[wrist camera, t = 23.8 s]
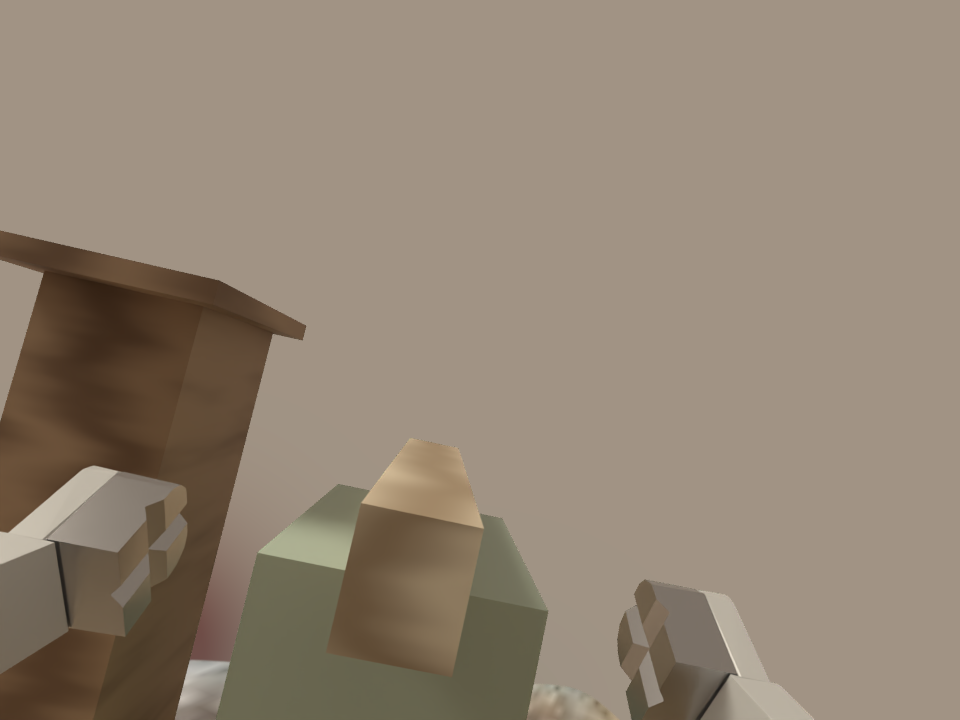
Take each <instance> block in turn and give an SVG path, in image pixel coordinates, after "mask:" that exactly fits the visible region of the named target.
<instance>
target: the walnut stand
mask: <svg viewBox="0 0 960 720" xmlns="http://www.w3.org/2000/svg"><path fill="white" fill-rule="evenodd" d="M0 260H2V261H6V262H9V263H12V264H15V265H19V266H22V267H25V268H28V269H32V270H35V271H38V272H41V273H44V274H43V278H42V281H41V285H40V288H39V292H38V295H37V298H36V302H35V305H34V309H33V312H32V315H31V319H30V322H29V326H28V329H27V332H26V336H25V339H24V343H23V346H22V349H21V353H20V357H19V360H18V363H17V366H16V370H15V373H14V377H13V380H12V383H11V387H10V390H9V394H8V397H7V401H6V404H5V408H4V411H3V414H2V418H1V421H0V532H6V533H8V532H10V531H11V530H12V529H13V528H14V527H16V526H17V525H18V524H19V523H20V522H21V521H23V520H24V519H25V518H26V517H27V516H28V515H30V514H31V513H32V512H33V511H34V510H35V509H37V508H38V507H39V506H40V505H41V504H42V503H44V502H45V501H46V500H47V499H48V498H50V497H51V496H52V495H53V494H54V493H55V492H57V491H58V490H59V489H60V488H61V487H62V486H64V485H65V484H66V483H67V482H68V481H69V480H71V479H72V478H73V477H74V476H75V475H76V474H78V473H79V472H80V471H81V470H83V469H85V468H88V467H91V466H98V467H103V468H107V469H111V470H115V471H120V472H127V473H131V474H136V475H140V476H144V477H149V478H153V479H157V480H162V481H166V482H171V483H175V484H179V485H182V486H183V487H185V488H186V494H187V504H186V505H185V507H184V508H183V509H182V510H181V512H180V514H181V515H182V517H183V518H184V519H185V521H186V522H187V538H186V543H185V547H184V550H183V552H182V554H181V556H180V559H179V561H178V563H177V565H176V567H175V568H174V569H173V571H172V572H171V574H170V575H169V577H168V578H167V579H166V580H164V581H162V582H160V583H158V584H156V585H154V586H152V587H151V602H150V603H149V605H148V606H147V608H146V609H145V610H144V612H143V613H142V614H141V616H140V617H139V619H138V620H137V621H136V623H135V624H134V625H133V627H132V628H131V630H130V631H129V632H128V634H127V635H126V637H123V636H117V635H111V634H104V633H98V632H91V631H85V630H79V629H72V628H68V632H66V633H65V634H63V635H62V636H60V637H59V638H57V639H55V640H54V641H52V642H51V643H49V644H47V645H46V646H44V647H43V648H41V649H39V650H38V651H36V652H35V653H33V654H32V655H30V656H28V657H27V658H25V659H24V660H22V661H20V662H19V663H17V664H16V665H14V666H12V667H11V668H9V669H8V670H6V671H5V672H3V673H1V674H0V720H174V719H175V715H176V711H177V707H178V704H179V700H180V696H181V692H182V688H183V684H184V680H185V676H186V672H187V668H188V664H189V660H190V656H191V653H192V649H193V645H194V641H195V637H196V633H197V629H198V625H199V621H200V617H201V613H202V609H203V605H204V601H205V598H206V593H207V590H208V586H209V582H210V578H211V574H212V570H213V566H214V562H215V558H216V554H217V550H218V546H219V543H220V539H221V535H222V531H223V527H224V523H225V519H226V515H227V511H228V507H229V503H230V499H231V496H232V492H233V488H234V484H235V480H236V476H237V472H238V468H239V464H240V460H241V456H242V452H243V448H244V445H245V441H246V437H247V432H248V429H249V425H250V421H251V417H252V413H253V409H254V405H255V401H256V397H257V393H258V389H259V385H260V382H261V378H262V374H263V370H264V366H265V362H266V358H267V354H268V350H269V346H270V342H271V339H272V334H276V335H281V336H285V337H290V338H294V339H299V340H303V337H304V333H305V328H306V325H304V324H302V323H300V322H298V321H296V320H294V319H292V318H290V317H288V316H286V315H284V314H283V313H281V312H279V311H277V310H275V309H273V308H271V307H269V306H267V305H265V304H263V303H261V302H260V301H257V300H255V299H253V298H252V297H250V296H248V295H246V294H244V293H242V292H240V291H238V290H236V289H235V288H233V287H231V286H229V285H227V284H225V283H223V282H221V281H219V280H214V279H210V278H205V277H201V276H197V275H193V274H188V273H184V272H179V271H175V270H171V269H166V268H161V267H157V266H153V265H149V264H144V263H140V262H135V261H131V260H127V259H122V258H118V257H114V256H109V255H105V254H101V253H96V252H92V251H87V250H83V249H78V248H74V247H70V246H65V245H61V244H56V243H52V242H48V241H44V240H39V239H34V238H30V237H26V236H22V235H17V234H13V233H9V232H4V231H0Z"/></svg>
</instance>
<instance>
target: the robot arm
mask: <svg viewBox="0 0 960 720" xmlns="http://www.w3.org/2000/svg"><path fill="white" fill-rule="evenodd" d="M186 504H187V494H186V488H185V487H183V486H182V485H179V484H175V483H171V482H166V481H162V480H157V479H153V478H149V477H144V476H140V475H136V474H131V473H127V472H120V471H115V470H111V469H107V468H103V467H98V466H91V467H88V468H85V469H83V470H81V471H80V472H79V473H78V474H76V475H75V476H74V477H73V478H72V479H71V480H69V481H68V482H67V483H66V484H65V485H64V486H62V487H61V488H60V489H59V490H58V491H57V492H55V493H54V494H53V495H52V496H51V497H50V498H48V499H47V500H46V501H45V502H44V503H42V504H41V505H40V506H39V507H38V508H37V509H35V510H34V511H33V512H32V513H31V514H30V515H28V516H27V517H26V518H25V519H24V520H23V521H21V522H20V523H19V524H18V525H17V526H16V527H14V528H13V529H12V530H11V531H10V532H8V533H6V532H0V674H1V673H3V672H5V671H6V670H8V669H9V668H11V667H12V666H14V665H16V664H17V663H19V662H20V661H22V660H24V659H25V658H27V657H28V656H30V655H32V654H33V653H35V652H36V651H38V650H39V649H41V648H43V647H44V646H46V645H47V644H49V643H51V642H52V641H54V640H55V639H57V638H59V637H60V636H62V635H63V634H65V633H66V632H68V628H72V629H79V630H85V631H91V632H98V633H104V634H111V635H117V636H123V637H126V635H127V634H128V632H129V631H130V630H131V628H132V627H133V625H134V624H135V623H136V621H137V620H138V619H139V617H140V616H141V614H142V613H143V612H144V610H145V609H146V608H147V606H148V605H149V603H150V602H151V587H152V586H154V585H156V584H158V583H160V582H162V581H164V580H166V579H167V578H168V577H169V575H170V574H171V572H172V571H173V569H174V568H175V567H176V565H177V563H178V561H179V559H180V556H181V554H182V552H183V550H184V547H185V543H186V538H187V522H186V521H185V519H184V518H183V517H182V515H181V514H180V512H181V510H182V509H183V508H184V507H185V505H186ZM634 595H635V599H636V603H637V605H635V606H634V607H632V608H630V609H628V610H627V611H625V614H624V616H623V618H622V620H621V623H620V626H619V633H618V639H617V640H618V655H619V661H620V666H621V668H622V669H623V670H624V672H625V673H626V674H627V675H628V677H629V678H630V679H631V680H632V681H631V683H630V685H629V687H628V689H627V691H626V695H627V700H628V704H629V709H630V714H631V719H632V720H815V719H814V718H813V717H811V715H810V714H809V713H808V712H807V711H806V710H805V709H803V708H802V706H801V705H799V703H797V702H796V700H794V699H793V698H792V697H791V696H790V695H789V694H788V693H787V692H786V691H785V690H784V689H783V688H782V687H781V686H780V685H779V684H776V683H771V682H770V681H769V678H768V676H767V674H766V672H765V670H764V668H763V666H762V664H761V661H760V659H759V657H758V655H757V653H756V651H755V648H754V646H753V644H752V642H751V640H750V638H749V635H748V633H747V631H746V629H745V627H744V625H743V623H742V621H741V618H740V616H739V614H738V612H737V610H736V608H735V605H734V603H733V601H732V600H731V599H730V598H729V597H728V596H727V595H723V594H718V593H713V592H707V591H702V590H695V589H691V588H686V587H681V586H676V585H670V584H665V583H661V582H655V581H650V580H644V581H642V582H641V583H640V584H639V586H638V588H637V589H636V591H635V594H634Z"/></svg>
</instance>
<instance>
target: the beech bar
mask: <svg viewBox="0 0 960 720" xmlns="http://www.w3.org/2000/svg"><path fill="white" fill-rule="evenodd" d="M483 531H484V527H483V524H482V521H481V518H480V515H479V511H478V508H477V505H476V502H475V499H474V496H473V493H472V489H471V486H470V484H469V480H468V477H467V474H466V471H465V467H464V464H463V461H462V458H461V455H460V452H459V449H458V448H455V447H450V446H445V445H441V444H436V443H432V442H427V441H422V440H418V439H413V438H410V439H409V440H408V442H407V443H406V444H405V446H404V447H403V448H402V450H401V451H400V452H399V453H398V455H397V456H396V458H395V459H394V460H393V461H392V463H391V464H390V465H389V467H388V468H387V469H386V471H385V472H384V473H383V475H382V476H381V477H380V479H379V480H378V481H377V482H376V484H375V486H374V487H373V488H372V489H371V491H370V492H369V493H368V494H367V496H366V497H365V498H364V500H363V501H362V502H361V505H360V509H359V513H358V518H357V522H356V526H355V530H354V535H353V539H352V543H351V548H350V552H349V556H348V560H347V565H346V569H345V573H344V577H343V582H342V586H341V590H340V594H339V599H338V603H337V607H336V611H335V616H334V620H333V624H332V628H331V633H330V637H329V641H328V645H327V650H326V653H329V654H334V655H339V656H344V657H350V658H355V659H360V660H365V661H370V662H375V663H381V664H386V665H391V666H396V667H401V668H407V669H412V670H417V671H422V672H427V673H433V674H438V675H443V676H448V677H452V675H453V670H454V666H455V661H456V656H457V652H458V647H459V642H460V638H461V633H462V628H463V624H464V619H465V614H466V610H467V605H468V601H469V596H470V591H471V587H472V582H473V577H474V573H475V568H476V563H477V559H478V554H479V549H480V545H481V540H482V535H483Z"/></svg>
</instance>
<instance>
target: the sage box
mask: <svg viewBox="0 0 960 720" xmlns="http://www.w3.org/2000/svg"><path fill="white" fill-rule="evenodd" d="M369 492H370V491H369V490H364V489H359V488H354V487H350V486H345V485H340V484H338V485H337V486H336V487H334V488H333V489H332V490H331V491H330V492H328V493H327V494H326V495H325V496H324V497H322V498H321V499H320V500H319V501H318V502H317V503H316V504H314V505H313V506H312V507H311V508H310V509H308V510H307V511H306V512H305V513H304V514H302V515H301V516H300V517H299V518H298V519H296V520H295V521H294V522H293V523H292V524H291V525H289V526H288V527H287V528H286V529H285V530H284V531H282V532H281V533H280V534H279V535H278V536H276V537H275V538H274V539H273V540H272V541H271V542H269V543H268V544H267V545H266V546H265V547H263V548H262V549H261V550H260V551H259V552H258V553H257V556H256V560H255V565H254V568H253V572H252V577H251V580H250V584H249V588H248V593H247V597H246V601H245V605H244V609H243V613H242V617H241V621H240V625H239V629H238V633H237V637H236V641H235V645H234V649H233V653H232V657H231V661H230V665H229V669H228V673H227V677H226V681H225V685H224V689H223V693H222V697H221V701H220V705H219V709H218V713H217V717H216V720H526V719H527V714H528V709H529V704H530V699H531V694H532V689H533V685H534V679H535V675H536V670H537V665H538V660H539V654H540V650H541V645H542V640H543V635H544V630H545V625H546V620H547V615H548V610H547V608H546V605H545V604H544V602H543V599H542V597H541V595H540V593H539V591H538V589H537V587H536V585H535V583H534V581H533V579H532V577H531V575H530V573H529V571H528V569H527V567H526V565H525V563H524V562H523V559H522V557H521V555H520V553H519V551H518V550H517V547H516V545H515V543H514V541H513V539H512V537H511V535H510V533H509V531H508V529H507V527H506V525H505V523H504V521H503V519H502V518H497V517H493V516H488V515H483V514H479V515H480V518H481V521H482V524H483V527H484V531H483V535H482V540H481V545H480V549H479V554H478V559H477V563H476V568H475V573H474V577H473V582H472V587H471V591H470V596H469V601H468V605H467V610H466V614H465V619H464V624H463V628H462V633H461V638H460V642H459V647H458V652H457V656H456V661H455V666H454V670H453V675H452V677H448V676H443V675H438V674H433V673H427V672H422V671H417V670H412V669H407V668H401V667H396V666H391V665H386V664H381V663H375V662H370V661H365V660H360V659H355V658H350V657H344V656H339V655H334V654H329V653H326V650H327V645H328V641H329V637H330V633H331V628H332V624H333V620H334V616H335V611H336V607H337V603H338V599H339V594H340V590H341V586H342V582H343V577H344V573H345V569H346V565H347V560H348V556H349V552H350V548H351V543H352V539H353V535H354V530H355V526H356V522H357V518H358V513H359V509H360V505H361V502H362V501H363V500H364V498H365V497H366V496H367V494H368V493H369Z"/></svg>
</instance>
